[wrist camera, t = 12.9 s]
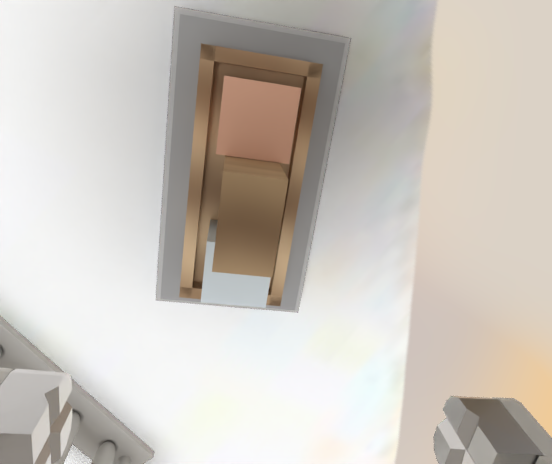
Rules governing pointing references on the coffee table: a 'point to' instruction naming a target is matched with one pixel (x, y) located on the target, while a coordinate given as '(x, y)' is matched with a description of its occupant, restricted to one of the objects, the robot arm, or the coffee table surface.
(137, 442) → the test tube rack
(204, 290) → the pale blue cube
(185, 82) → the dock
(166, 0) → the coffee table surface
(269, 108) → the block
